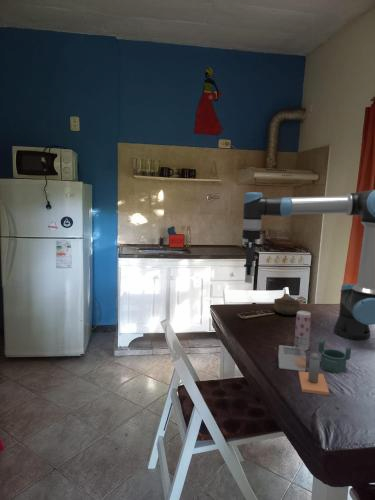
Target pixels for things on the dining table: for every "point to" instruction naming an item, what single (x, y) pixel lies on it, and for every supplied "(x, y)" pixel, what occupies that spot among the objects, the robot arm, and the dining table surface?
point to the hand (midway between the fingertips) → (249, 279)
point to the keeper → (313, 378)
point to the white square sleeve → (292, 358)
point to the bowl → (286, 305)
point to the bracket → (333, 358)
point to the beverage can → (302, 329)
